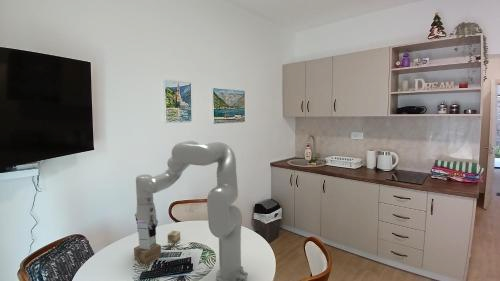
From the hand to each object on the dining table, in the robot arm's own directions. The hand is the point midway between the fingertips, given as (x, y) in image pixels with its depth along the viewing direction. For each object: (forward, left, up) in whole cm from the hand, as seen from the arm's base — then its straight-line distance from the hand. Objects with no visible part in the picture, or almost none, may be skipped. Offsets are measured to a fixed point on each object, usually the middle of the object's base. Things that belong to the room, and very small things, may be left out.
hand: (146, 233), depth 130 cm
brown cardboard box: (0, 0, -13) cm, 13 cm away
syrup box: (0, 0, -7) cm, 7 cm away
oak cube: (+3, -19, -13) cm, 23 cm away
